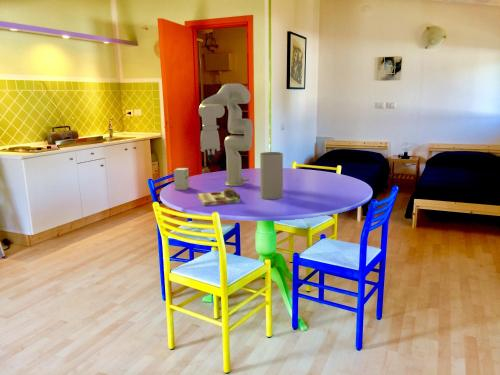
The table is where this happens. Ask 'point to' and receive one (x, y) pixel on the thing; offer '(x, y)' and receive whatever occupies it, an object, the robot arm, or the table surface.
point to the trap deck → (218, 198)
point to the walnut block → (228, 192)
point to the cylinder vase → (271, 175)
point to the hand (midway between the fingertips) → (211, 161)
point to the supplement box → (181, 178)
